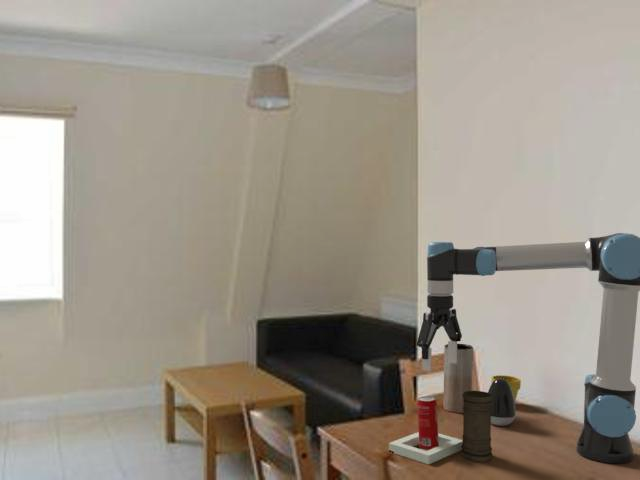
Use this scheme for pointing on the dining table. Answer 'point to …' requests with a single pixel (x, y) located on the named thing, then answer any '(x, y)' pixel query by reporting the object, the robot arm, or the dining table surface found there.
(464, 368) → the planter
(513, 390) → the plant pot
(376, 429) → the dining table surface
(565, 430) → the dining table surface
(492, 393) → the dark grey domed cylinder
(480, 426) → the container
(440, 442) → the socket block
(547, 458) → the dining table surface
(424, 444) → the beverage can
